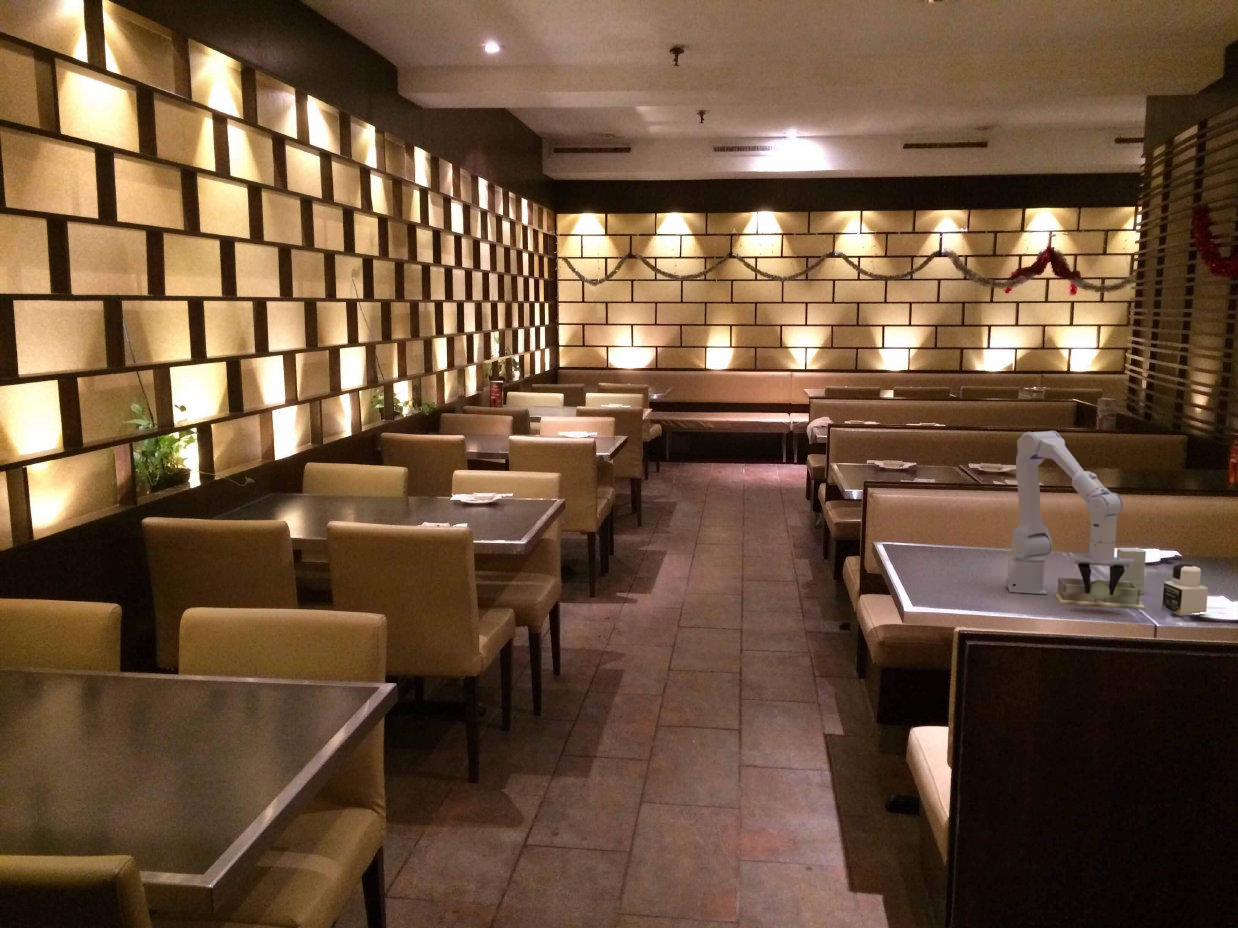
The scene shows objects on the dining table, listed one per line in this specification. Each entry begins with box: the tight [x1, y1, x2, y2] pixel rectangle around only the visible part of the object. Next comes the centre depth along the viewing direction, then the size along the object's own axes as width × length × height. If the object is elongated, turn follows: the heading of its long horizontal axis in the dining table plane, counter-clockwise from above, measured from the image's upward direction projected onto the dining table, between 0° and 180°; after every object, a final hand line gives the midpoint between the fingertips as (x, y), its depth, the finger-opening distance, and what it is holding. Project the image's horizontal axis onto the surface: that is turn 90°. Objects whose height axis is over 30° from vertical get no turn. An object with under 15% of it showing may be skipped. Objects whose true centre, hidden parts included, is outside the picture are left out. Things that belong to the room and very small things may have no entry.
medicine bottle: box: [1161, 563, 1209, 617], centre depth 246 cm, size 7×7×12 cm
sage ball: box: [1089, 579, 1110, 600], centre depth 247 cm, size 5×5×5 cm
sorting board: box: [1053, 576, 1146, 610], centre depth 256 cm, size 20×11×5 cm, turn 75°
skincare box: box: [1116, 547, 1147, 595], centre depth 265 cm, size 6×4×12 cm
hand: (1098, 593), depth 247 cm, fingers closed on sage ball, 5 cm apart
